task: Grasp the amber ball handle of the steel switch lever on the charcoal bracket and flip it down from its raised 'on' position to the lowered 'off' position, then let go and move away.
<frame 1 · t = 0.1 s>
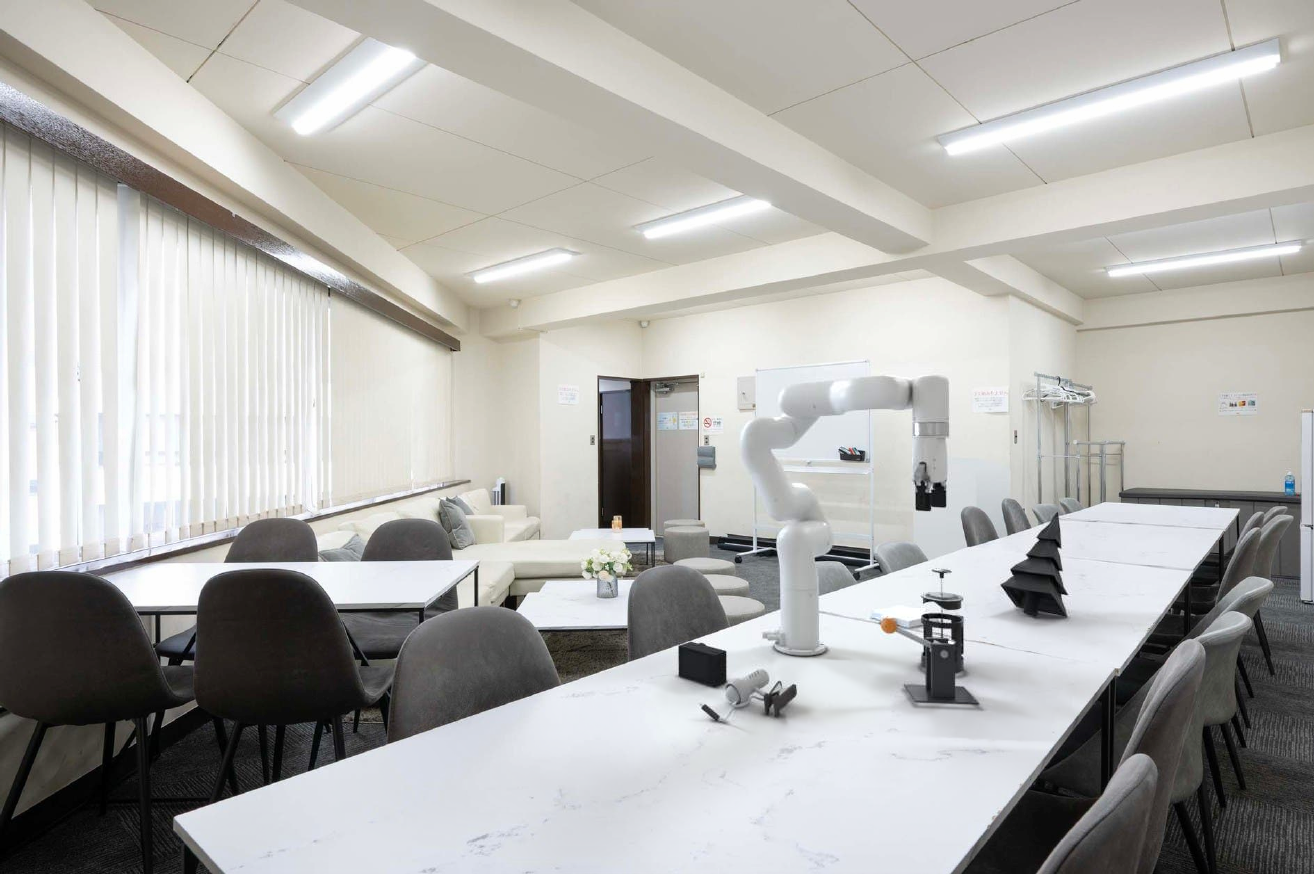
hand: (931, 509, 150), 37 cm above the table, tool pointing down, fingers open, 9 cm apart
mounting plate: (904, 620, 199), on the table
decorative tree: (1041, 613, 206), on the table
switch bracket: (940, 699, 138), on the table
switch lever: (913, 637, 139), point 12 cm above the table, hinge at 25.0°
french press: (943, 671, 155), on the table
digital camera: (704, 679, 150), on the table
clip-on lamp: (747, 712, 132), on the table
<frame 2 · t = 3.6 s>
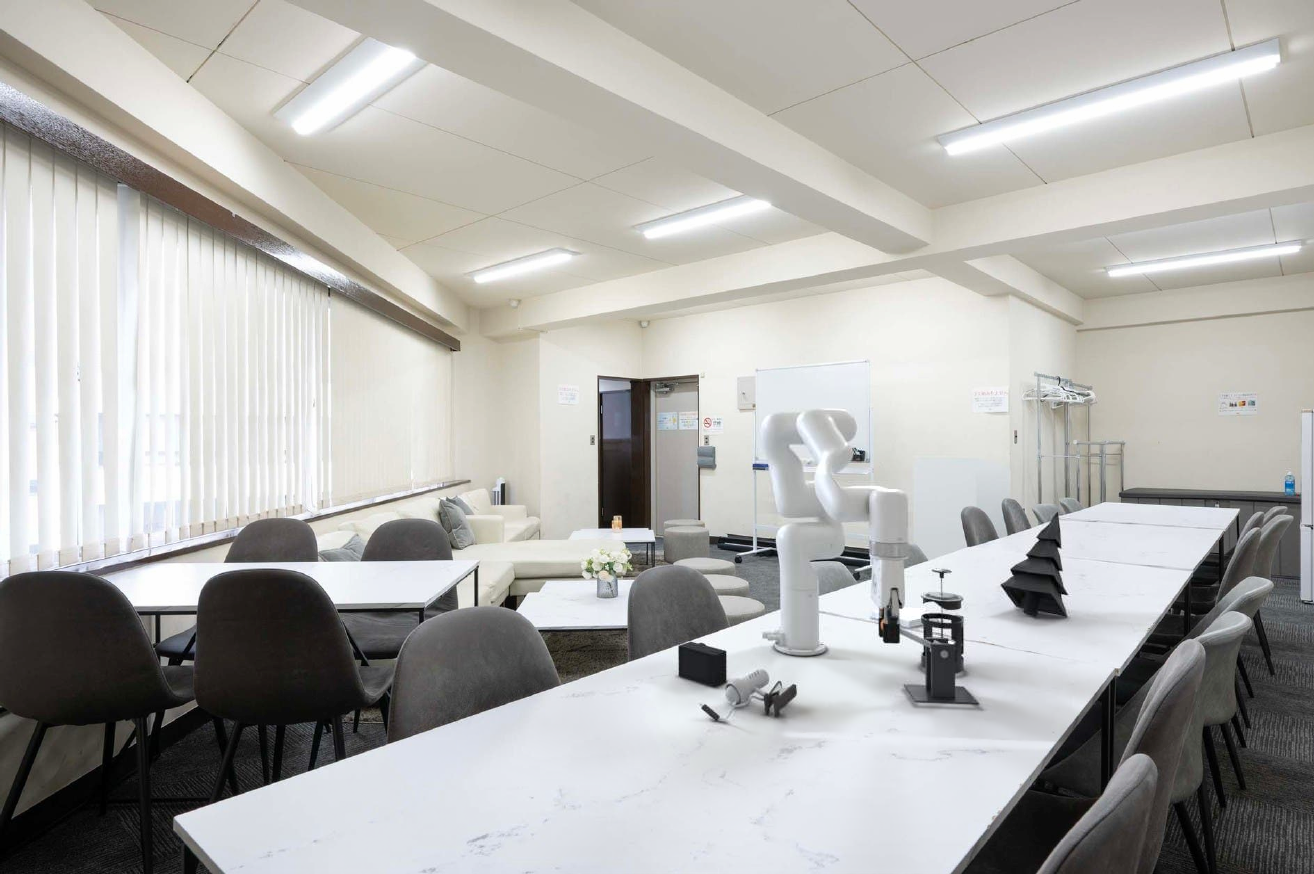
hand: (889, 639, 139), 12 cm above the table, tool pointing down, fingers closed on switch lever, 3 cm apart
switch lever: (913, 637, 139), point 12 cm above the table, hinge at 25.0°, touching gripper
everything else where it was.
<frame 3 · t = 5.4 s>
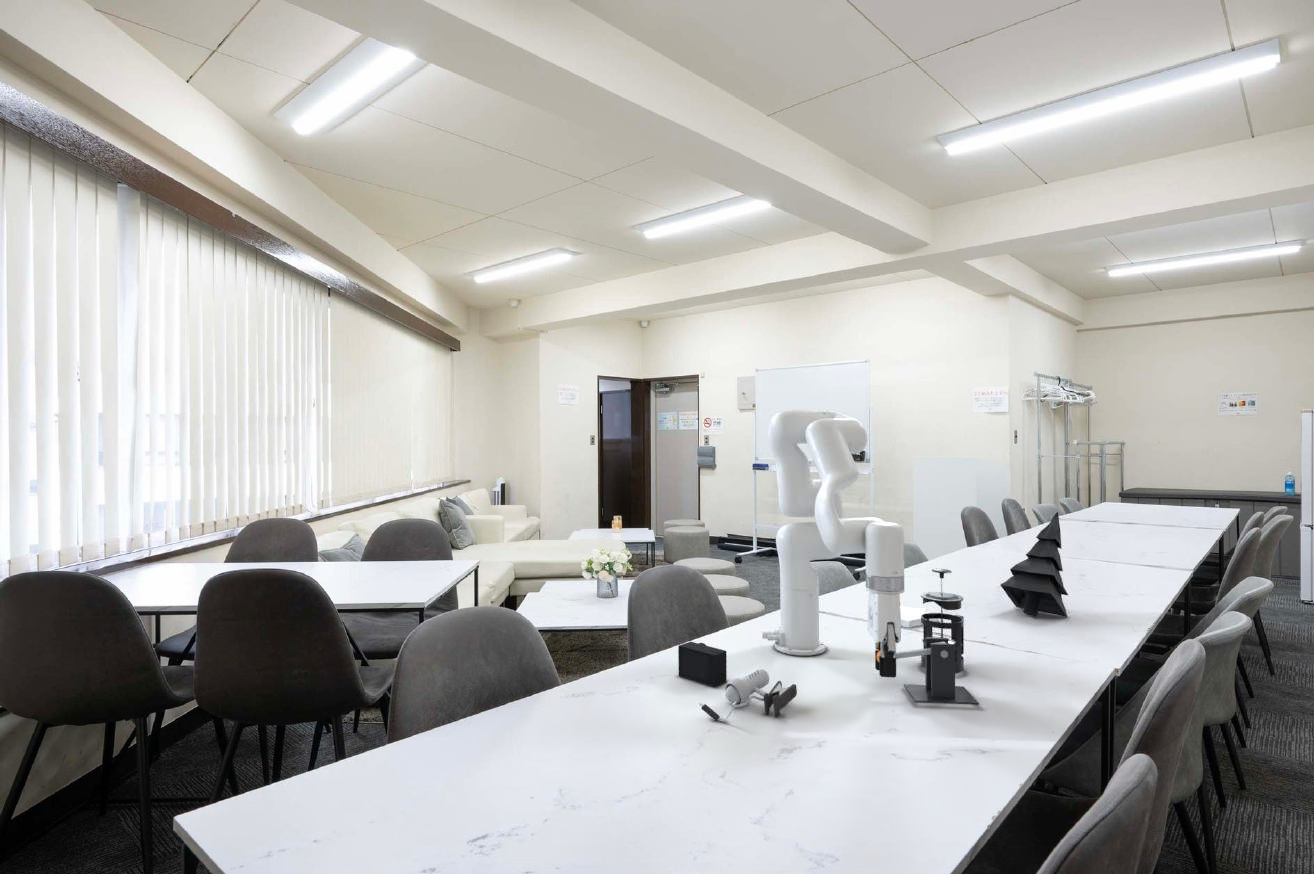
hand: (885, 672, 139), 5 cm above the table, tool pointing down, fingers closed on switch lever, 3 cm apart
switch lever: (911, 653, 139), point 9 cm above the table, hinge at -9.8°, touching gripper
everything else where it was.
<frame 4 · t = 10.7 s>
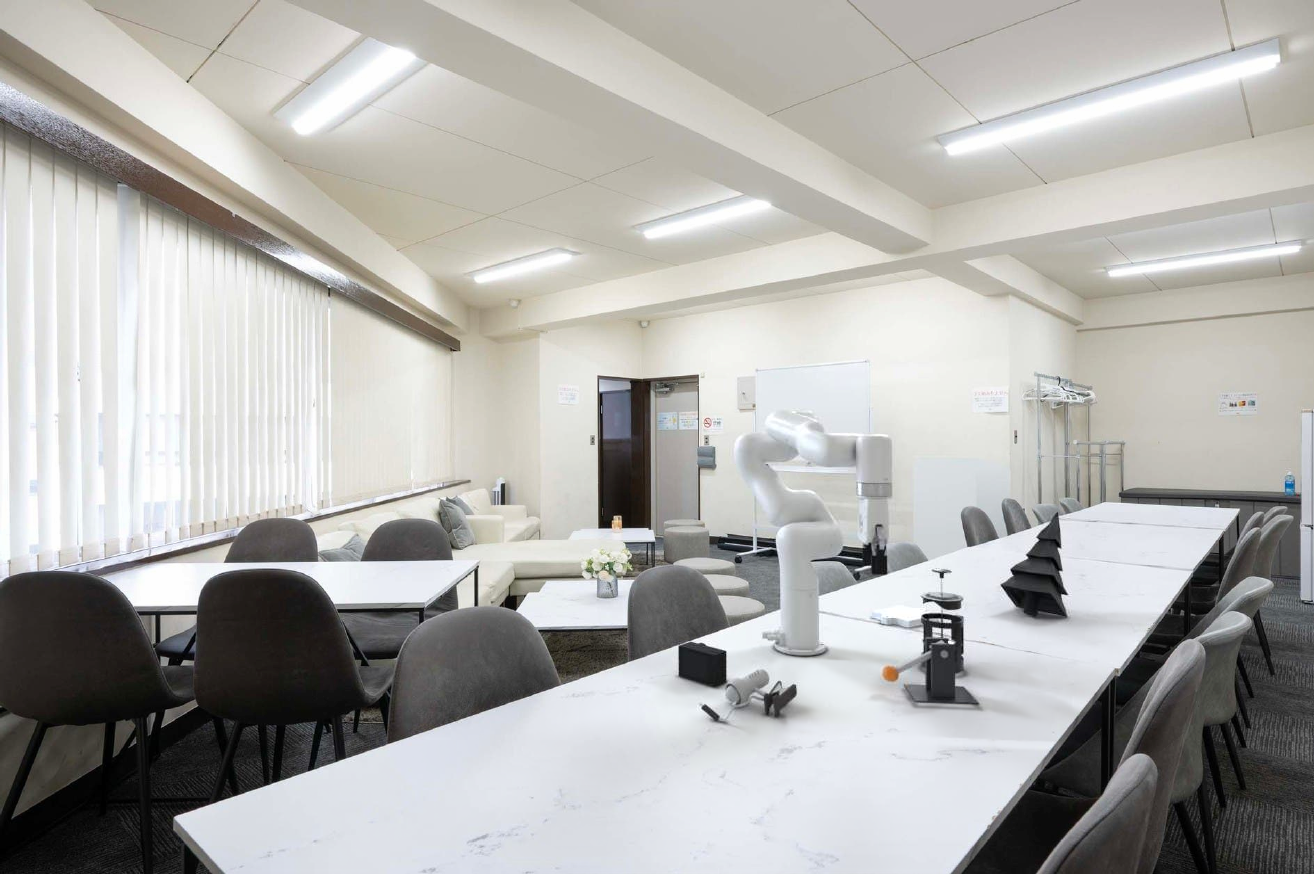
hand: (874, 569, 148), 24 cm above the table, tool pointing down, fingers open, 9 cm apart
switch lever: (914, 662, 139), point 7 cm above the table, hinge at -28.0°
everything else where it was.
at the end: switch lever at -28° (first picture: +25°); the gripper is holding nothing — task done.
